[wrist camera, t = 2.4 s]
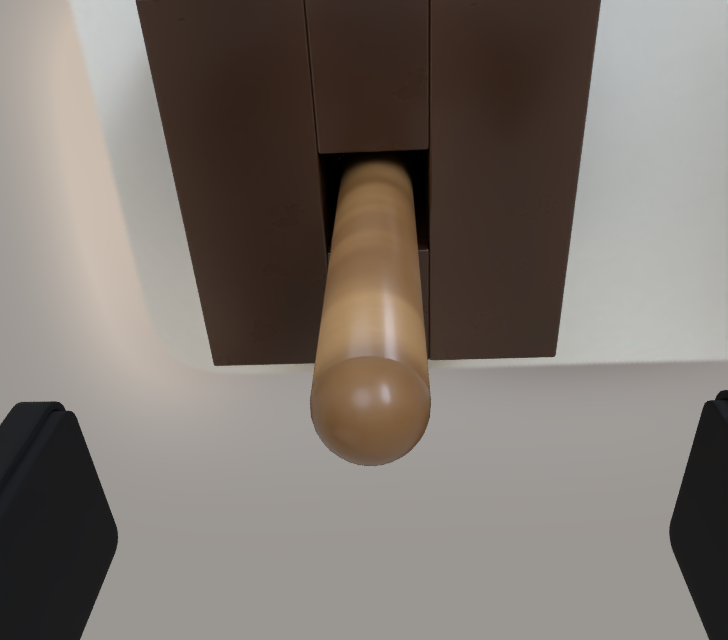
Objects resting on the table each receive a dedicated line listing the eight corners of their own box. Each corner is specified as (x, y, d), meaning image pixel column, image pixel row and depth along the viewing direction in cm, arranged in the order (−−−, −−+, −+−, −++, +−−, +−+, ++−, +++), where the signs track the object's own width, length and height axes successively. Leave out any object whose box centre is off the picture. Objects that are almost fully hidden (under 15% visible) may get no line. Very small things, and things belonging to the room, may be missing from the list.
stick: (337, 124, 24) (279, 453, 11) (373, 78, 23) (358, 374, 10) (382, 159, 25) (378, 509, 11) (418, 115, 24) (461, 440, 10)
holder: (250, 257, 27) (213, 366, 21) (202, -40, 21) (134, -2, 15) (518, 248, 27) (555, 357, 21) (543, -59, 21) (605, -27, 15)
